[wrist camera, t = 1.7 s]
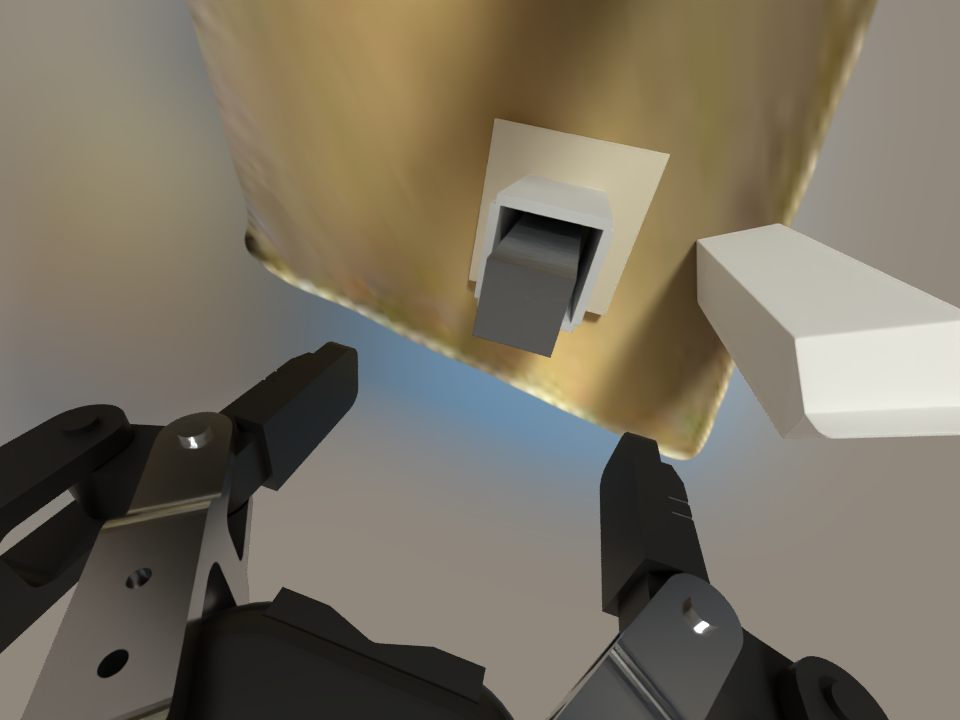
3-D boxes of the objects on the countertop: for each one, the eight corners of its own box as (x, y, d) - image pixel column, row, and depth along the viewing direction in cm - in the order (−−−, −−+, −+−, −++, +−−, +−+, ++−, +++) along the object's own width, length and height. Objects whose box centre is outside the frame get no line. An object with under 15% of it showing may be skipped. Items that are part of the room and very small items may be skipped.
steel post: (538, 195, 32) (485, 255, 16) (585, 207, 31) (579, 279, 16) (525, 248, 34) (469, 343, 19) (569, 259, 34) (549, 366, 18)
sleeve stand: (498, 118, 31) (438, 108, 19) (666, 153, 29) (719, 167, 17) (472, 275, 39) (417, 339, 27) (604, 309, 37) (610, 395, 25)
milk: (773, 291, 32) (1005, 493, 14) (695, 302, 35) (811, 491, 16) (779, 220, 30) (1076, 360, 12) (694, 238, 32) (832, 378, 14)
